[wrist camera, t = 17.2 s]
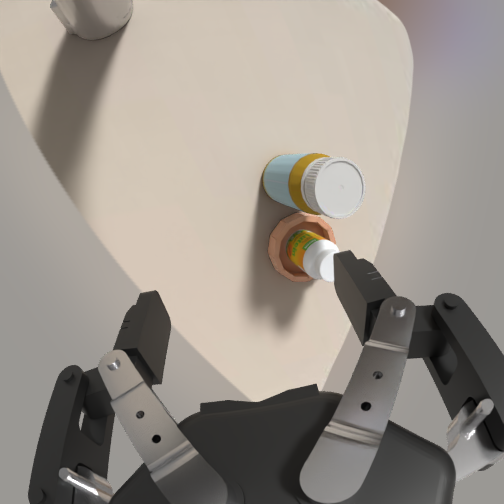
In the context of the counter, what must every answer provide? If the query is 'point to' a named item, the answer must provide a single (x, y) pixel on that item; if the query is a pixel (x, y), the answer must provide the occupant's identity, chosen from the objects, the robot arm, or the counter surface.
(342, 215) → the bottle
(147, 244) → the counter surface
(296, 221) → the terracotta dish
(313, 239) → the supplement bottle
